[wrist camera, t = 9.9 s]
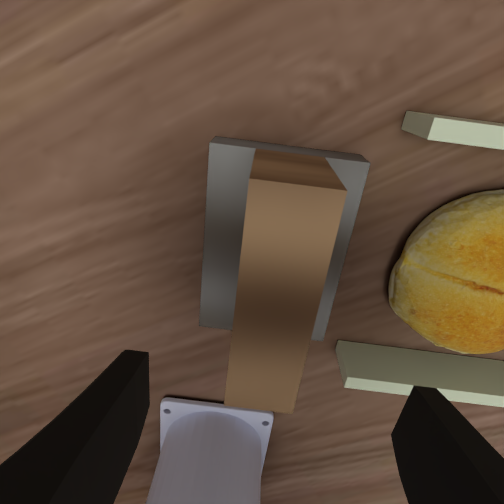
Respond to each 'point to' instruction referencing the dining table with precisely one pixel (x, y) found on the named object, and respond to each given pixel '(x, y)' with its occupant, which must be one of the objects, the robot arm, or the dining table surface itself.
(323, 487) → the dining table surface
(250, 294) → the scraper
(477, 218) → the bread roll
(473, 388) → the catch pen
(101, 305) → the dining table surface
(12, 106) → the dining table surface
